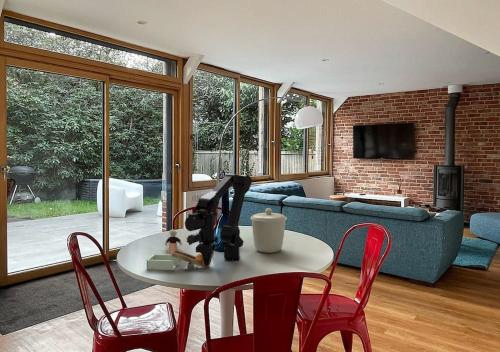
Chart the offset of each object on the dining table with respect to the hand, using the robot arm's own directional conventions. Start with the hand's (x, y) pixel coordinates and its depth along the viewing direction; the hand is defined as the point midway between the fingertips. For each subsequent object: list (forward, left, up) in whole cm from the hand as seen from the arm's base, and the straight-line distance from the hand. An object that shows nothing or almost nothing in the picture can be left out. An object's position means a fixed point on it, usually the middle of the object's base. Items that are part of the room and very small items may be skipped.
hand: (207, 263), depth 157 cm
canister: (-25, -30, -2) cm, 39 cm away
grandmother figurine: (+19, -16, -2) cm, 25 cm away
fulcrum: (+7, 0, -2) cm, 7 cm away
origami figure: (+23, -29, -2) cm, 37 cm away
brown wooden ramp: (+7, 0, +1) cm, 7 cm away
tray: (+19, 0, -2) cm, 19 cm away
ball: (+3, 0, +2) cm, 4 cm away
